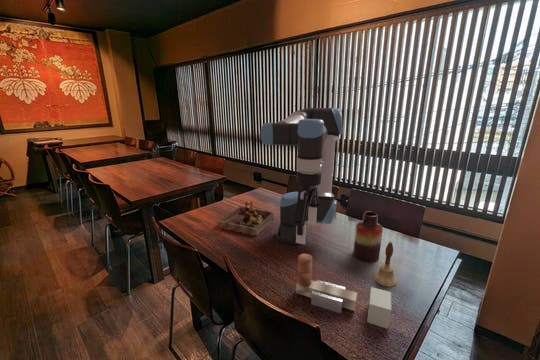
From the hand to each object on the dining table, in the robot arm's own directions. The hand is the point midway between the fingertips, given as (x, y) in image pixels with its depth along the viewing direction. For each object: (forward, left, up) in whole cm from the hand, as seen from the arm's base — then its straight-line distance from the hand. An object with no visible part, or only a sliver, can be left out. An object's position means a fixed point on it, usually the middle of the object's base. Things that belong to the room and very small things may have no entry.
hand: (306, 233), depth 83 cm
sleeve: (+8, 0, -24) cm, 26 cm away
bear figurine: (-44, +42, -25) cm, 65 cm away
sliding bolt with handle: (+8, 0, -23) cm, 25 cm away
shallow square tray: (-46, +41, -24) cm, 66 cm away
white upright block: (+24, 0, -24) cm, 35 cm away
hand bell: (+26, +20, -25) cm, 42 cm away
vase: (+18, +34, -25) cm, 46 cm away
